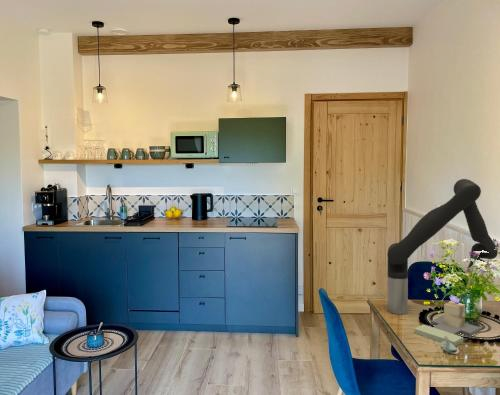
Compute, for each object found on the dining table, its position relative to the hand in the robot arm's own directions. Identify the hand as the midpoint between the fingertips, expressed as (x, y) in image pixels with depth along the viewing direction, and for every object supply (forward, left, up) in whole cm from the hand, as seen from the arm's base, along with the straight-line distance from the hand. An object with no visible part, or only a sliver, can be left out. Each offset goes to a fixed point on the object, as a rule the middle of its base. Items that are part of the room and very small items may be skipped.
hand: (458, 312), depth 175 cm
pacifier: (+26, -4, -7) cm, 27 cm away
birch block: (+3, -2, -4) cm, 6 cm away
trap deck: (+8, -5, -6) cm, 11 cm away
